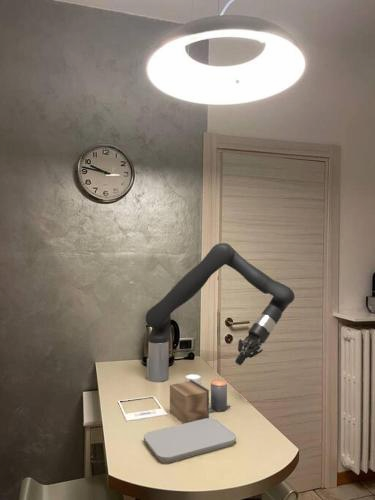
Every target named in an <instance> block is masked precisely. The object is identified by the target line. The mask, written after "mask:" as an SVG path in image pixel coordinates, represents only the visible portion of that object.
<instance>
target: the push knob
mask: <svg viewBox="0 0 375 500" xmlns="http://www.w3.org/2000/svg"><path fill="white" fill-rule="evenodd" d="M227 405H228V382H227V380H225V379H223V378H222V379H220V378H217V379H216V378H215V379H212V380H211V381H210V408H212V409H215V410H221V411H223V410H224V409H225V410H227V409H226V408H227Z"/></svg>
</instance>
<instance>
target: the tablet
mask: <svg viewBox="0 0 375 500" xmlns="http://www.w3.org/2000/svg"><path fill="white" fill-rule="evenodd" d="M236 439H237V435H236V434H235V432H233V431H232V430H231V429H230V428H228V427H227V426H226V425H224V424H223V423H222V422H220V421H219V420H218V419H215V418H212V417H209V418H206V419H201V420H197V421H193V422H188V423H184V424H183V423H180V424H176V425H172V426H168V427H163V428H159V429H154V430H151V431H147V432H145V433H144V435H143V440H144V442H145V444H146V445H147V447H148V448H149V449H150V450H151V452H152V453H153V454H154V456H155V457H156V458H157V460H158V461H160V462H161V463H164V464H165V463H166V464H168V463H172V462H177V461H180V460H183V459H187V458H191V457H194V456H199V455H202V454H204V453H209V452H212V451H216V450H220V449H223V448H227V447H230V446H232V445H233V444H234V443H235V441H236Z"/></svg>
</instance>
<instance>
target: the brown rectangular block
mask: <svg viewBox="0 0 375 500" xmlns="http://www.w3.org/2000/svg"><path fill="white" fill-rule="evenodd" d="M209 406H210V389H208V388H207V387H205V386H203V385H202V384H201V385H200V384H198V383H197V382H195V381H193V380H192V379H190V381H188V382H185V381H183V382H179V383H175V384H169V413H170V414H171V415H172V416H173V417H174V418H175V419H177V420H178V421H179V422H180V423H181V424H184V423H188V422H193V421H197V420H201V419H206V418H210V414H213V413H216V412H217V413H218V412H220V411H222V410H215V409H212V408H211V407H209ZM228 409H231V406H229V405H228V404H227V408H226V409H224V410H228Z"/></svg>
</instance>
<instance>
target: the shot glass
mask: <svg viewBox="0 0 375 500" xmlns="http://www.w3.org/2000/svg"><path fill="white" fill-rule="evenodd" d="M184 379H185V380H184V382H188V381H190V379H192V380H193V381H195V382H197V383H198V384H200V385H202V375H200V374H198V373H197V374H196V373H194V374H193V373H191V374H186V375H185V376H184Z"/></svg>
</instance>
